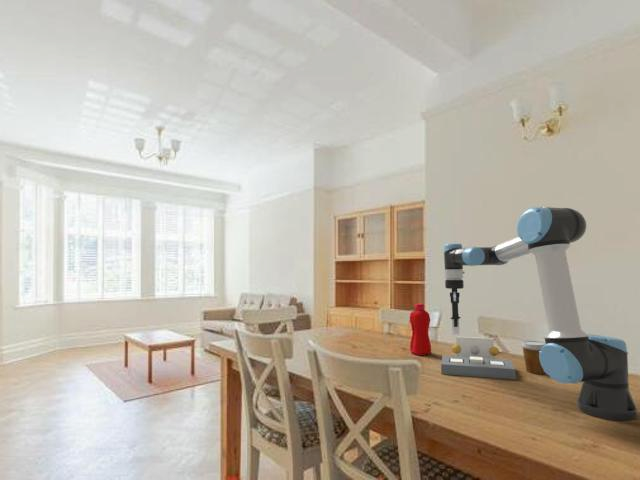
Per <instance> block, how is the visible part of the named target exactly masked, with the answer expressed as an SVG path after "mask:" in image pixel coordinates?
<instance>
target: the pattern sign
mask: <svg viewBox="0 0 640 480" xmlns="http://www.w3.org/2000/svg"><path fill="white" fill-rule="evenodd" d="M455 337H456V338H455V342H456V343H455V344H454V345H452V347H451V351H452V352H453V353H454V354H456V356H462V357H470V356H471V357H482V358H494V359H495V357H496V356H498V355H499V352H500V351H499V350H500V349H499V348H498V347H497V346H495V342H494V341H495V340H494V338H491V337H475V336H474V337H472V336H455Z"/></svg>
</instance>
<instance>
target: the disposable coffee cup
mask: <svg viewBox="0 0 640 480" xmlns="http://www.w3.org/2000/svg"><path fill="white" fill-rule="evenodd" d="M521 343H522V344H521V348H522V352H523V358H524V363H525V364H524V365H525V369H526V370H525V371H526V372H527V373H530V374H535V375H541V374H542V375H543V374H544V373H545V371H544V369H543V367H542V365H541V363H540V359H539V353H540V351H541V348H542V347H543V346H544V345H545V344H546V343H545V342H543V341H536V340H524V341H522V342H521Z"/></svg>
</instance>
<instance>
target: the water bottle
mask: <svg viewBox="0 0 640 480" xmlns="http://www.w3.org/2000/svg"><path fill="white" fill-rule="evenodd" d="M414 306H415V307H414V310H412V311H411V312H410V314H409V321H408V324H410V327H411V329H410V328H408V330H409V331H411V333H412V334H411V339H410V343H409V344H410V345H409V349H410V352H411V353H412V354H414V355H416V356H424V355H425V356H427V355H430V354H431V353H432V345H431V341H430V336H429V328H430V323H431V317H430V316H431V315H430V313H429V312H428V311H427V310H425V305H424V304H423V303H415V305H414Z"/></svg>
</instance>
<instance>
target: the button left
mask: <svg viewBox="0 0 640 480" xmlns="http://www.w3.org/2000/svg"><path fill="white" fill-rule="evenodd" d="M450 362H461V363H463V359H451V358H450Z"/></svg>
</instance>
